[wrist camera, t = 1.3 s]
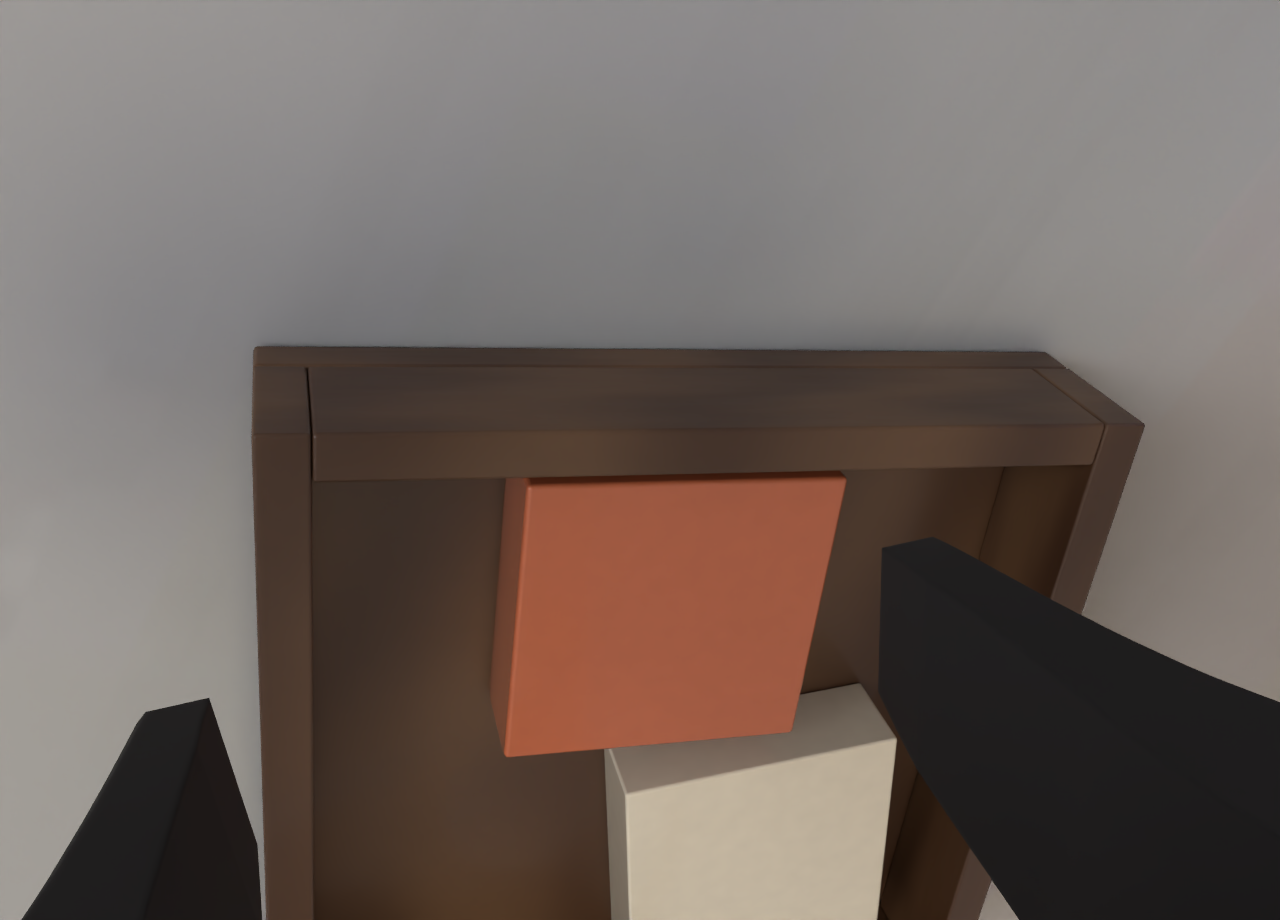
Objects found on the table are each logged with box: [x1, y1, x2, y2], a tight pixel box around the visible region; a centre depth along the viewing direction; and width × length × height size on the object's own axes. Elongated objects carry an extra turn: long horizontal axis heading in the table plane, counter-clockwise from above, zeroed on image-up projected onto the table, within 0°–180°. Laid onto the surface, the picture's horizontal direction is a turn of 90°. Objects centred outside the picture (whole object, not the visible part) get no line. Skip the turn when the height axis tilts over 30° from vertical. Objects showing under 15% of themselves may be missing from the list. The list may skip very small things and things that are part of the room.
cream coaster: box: [604, 683, 897, 920], centre depth 25 cm, size 6×6×2 cm
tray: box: [252, 347, 1145, 920], centre depth 24 cm, size 15×15×3 cm
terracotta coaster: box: [489, 471, 847, 757], centre depth 22 cm, size 6×6×2 cm
